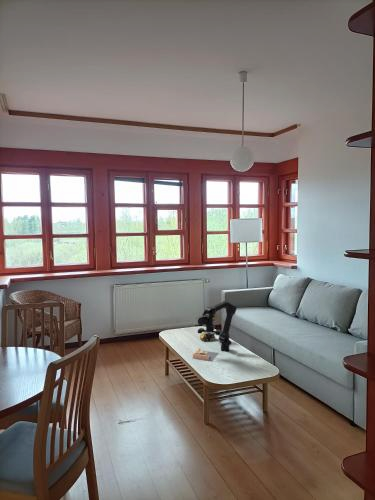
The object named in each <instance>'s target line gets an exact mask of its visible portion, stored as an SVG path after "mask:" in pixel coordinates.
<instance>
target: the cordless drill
mask: <svg viewBox="0 0 375 500" xmlns="http://www.w3.org/2000/svg"><path fill="white" fill-rule="evenodd" d="M202 315H203V314H201V315H200V317H202ZM206 315H207V314H206ZM214 316H215V317H213V322H215V321H216V319H217V316H218V315H217V312H216V313H215V314H214ZM195 319H196V320H198V319H199V317H196V318H195ZM205 326H206V324H205ZM204 334H205V332H202V333H200V336H199V338H200V340H201V341H203V342H209V341H208V339H207V337H206V335H204ZM211 341H216V334H214V335H213V336H212V338H211ZM211 341H210V342H211Z"/></svg>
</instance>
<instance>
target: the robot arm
mask: <svg viewBox="0 0 375 500" xmlns="http://www.w3.org/2000/svg"><path fill="white" fill-rule="evenodd" d="M224 308H225V313H226V316H225V320H224V323H223V324H224V325H223V329H222V330H221V329H216V330H215V328H216V325H214V321H213V317H215V316H214V314H215V313H216V314H217V312H218V311H220V310H222V309H224ZM237 310H238V309H237V305H234V304H231V303H230V302H228V301H227V300H226V301H225V300H224V301H222V302H220V303H218V304H215V305H214V306H207V307H205V309H204V311H203V313H202V314H201V315H202V317H201V316H199V317H198V319H197V324H198V325H199V326H204V325H205V324H206V325H205V328H203V327H199V328H198V330H197V334H203V333H205V334H204V335H206V337H207V339H208V341H207V342H209V343H211V338H212V336H213V335H214V334H215V335H214V336H218V340H219V343H220V344H221V345H220V351H221V352H223V353H224V352H226V353H227V352H230V350H231V349H230V348H231V347H230V345H232V341H231V339H230V329H231V324H232V320H233V317H234V315H235V314H236V312H237ZM206 314H207V315H206Z"/></svg>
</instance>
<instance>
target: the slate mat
mask: <svg viewBox="0 0 375 500" xmlns="http://www.w3.org/2000/svg"><path fill="white" fill-rule="evenodd" d="M205 351H206V352H208V356H209V360H206V362H207V361H208V362H213V361H214V360H215V358H216V357H218V355H219V354H220V352H215V351H214V352H213V351H207V350H205ZM194 359H195V360H197V359H196V358H193V360H194ZM199 360H200V361H201V360H202V359H199Z"/></svg>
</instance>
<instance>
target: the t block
mask: <svg viewBox="0 0 375 500" xmlns="http://www.w3.org/2000/svg"><path fill="white" fill-rule="evenodd" d="M195 351H196V350H195ZM195 351H194V352H195ZM206 351H207V350H203V349H200V350H197V351H196V352H195V354H199V355H206V356H208V352H206Z"/></svg>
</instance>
